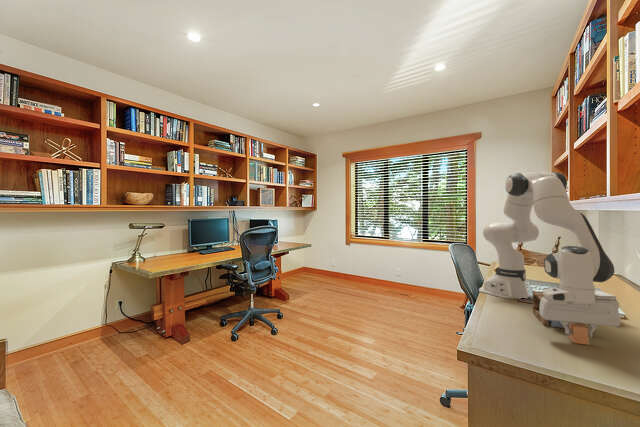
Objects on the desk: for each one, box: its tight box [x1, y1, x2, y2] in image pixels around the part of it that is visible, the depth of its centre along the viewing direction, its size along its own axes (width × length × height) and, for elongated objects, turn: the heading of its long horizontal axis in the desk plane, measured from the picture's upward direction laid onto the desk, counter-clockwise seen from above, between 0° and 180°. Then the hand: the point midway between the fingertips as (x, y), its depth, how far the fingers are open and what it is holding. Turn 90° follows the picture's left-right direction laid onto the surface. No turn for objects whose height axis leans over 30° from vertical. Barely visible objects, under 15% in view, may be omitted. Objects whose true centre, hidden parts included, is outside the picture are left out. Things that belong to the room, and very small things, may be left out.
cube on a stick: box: [548, 320, 589, 346], centre depth 98 cm, size 21×7×6 cm, turn 156°
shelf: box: [531, 290, 584, 327], centre depth 107 cm, size 14×11×10 cm
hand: (578, 335), depth 90 cm, fingers closed on cube on a stick, 4 cm apart
